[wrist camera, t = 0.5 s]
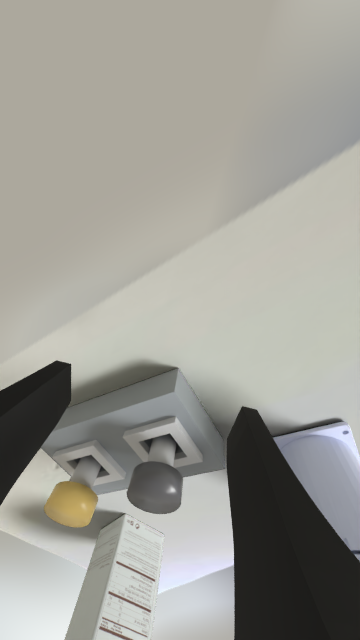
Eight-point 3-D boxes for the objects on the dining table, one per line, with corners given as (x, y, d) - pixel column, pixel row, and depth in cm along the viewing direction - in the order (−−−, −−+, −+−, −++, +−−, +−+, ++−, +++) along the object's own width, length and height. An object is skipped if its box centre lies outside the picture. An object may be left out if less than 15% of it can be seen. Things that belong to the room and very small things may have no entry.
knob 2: (194, 448, 22) (190, 509, 18) (156, 457, 23) (144, 517, 19) (173, 419, 20) (163, 477, 16) (135, 430, 22) (116, 487, 17)
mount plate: (223, 439, 25) (225, 475, 22) (102, 469, 29) (89, 502, 26) (178, 367, 21) (173, 397, 18) (49, 414, 26) (26, 444, 23)
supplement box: (138, 548, 38) (108, 694, 27) (99, 528, 36) (50, 674, 25) (167, 534, 35) (146, 692, 24) (125, 511, 33) (83, 669, 22)
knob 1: (119, 466, 24) (99, 524, 20) (89, 473, 26) (64, 529, 21) (96, 441, 23) (70, 497, 19) (65, 450, 24) (34, 505, 20)
